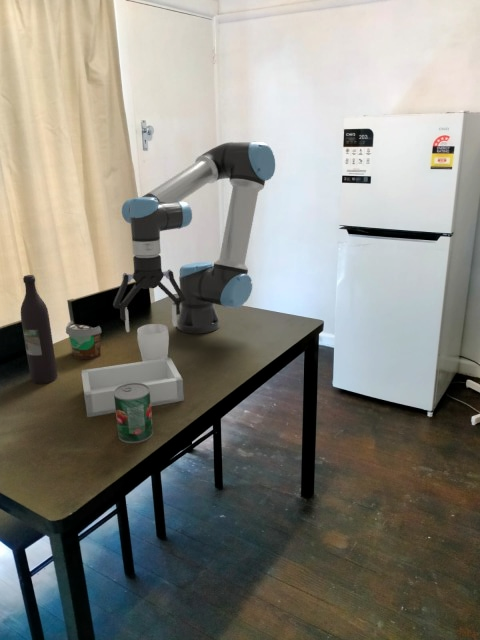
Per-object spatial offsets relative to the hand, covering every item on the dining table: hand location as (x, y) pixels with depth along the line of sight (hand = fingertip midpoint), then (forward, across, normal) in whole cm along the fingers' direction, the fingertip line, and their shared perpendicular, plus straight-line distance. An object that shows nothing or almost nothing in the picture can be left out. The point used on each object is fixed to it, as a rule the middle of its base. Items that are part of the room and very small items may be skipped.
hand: (151, 328), depth 147 cm
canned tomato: (+13, -10, -35) cm, 39 cm away
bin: (+13, -8, -16) cm, 22 cm away
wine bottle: (+13, -30, +3) cm, 33 cm away
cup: (+13, 0, 0) cm, 13 cm away
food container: (+13, -20, +16) cm, 28 cm away
